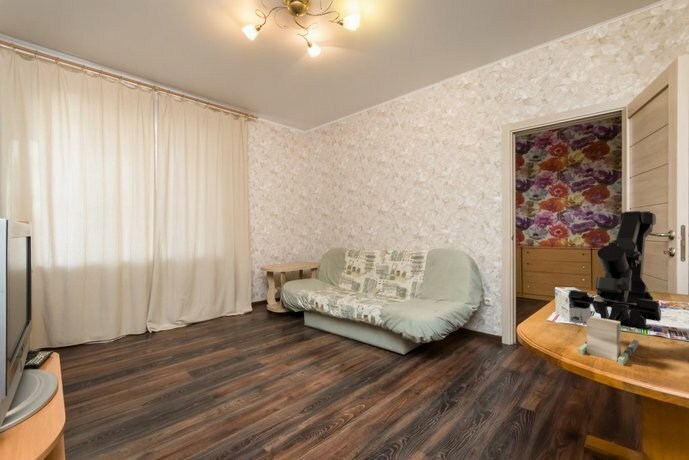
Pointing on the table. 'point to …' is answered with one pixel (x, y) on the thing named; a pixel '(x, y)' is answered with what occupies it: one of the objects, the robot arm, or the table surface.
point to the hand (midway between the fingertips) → (605, 331)
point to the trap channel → (623, 356)
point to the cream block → (603, 338)
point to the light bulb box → (569, 306)
